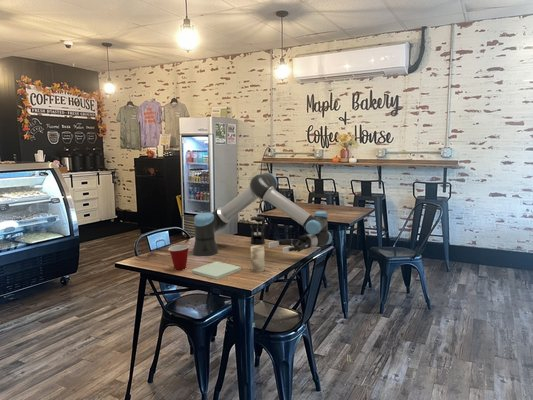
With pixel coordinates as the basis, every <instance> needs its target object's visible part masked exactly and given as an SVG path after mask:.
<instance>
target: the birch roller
mask: <svg viewBox="0 0 533 400" xmlns="http://www.w3.org/2000/svg"><path fill="white" fill-rule="evenodd" d="M265 267H266V266H265V246H264V245H262V244H261V245H252V246H250V270H251V272H253V273H260V272H264V271H265V270H266V268H265Z"/></svg>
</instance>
